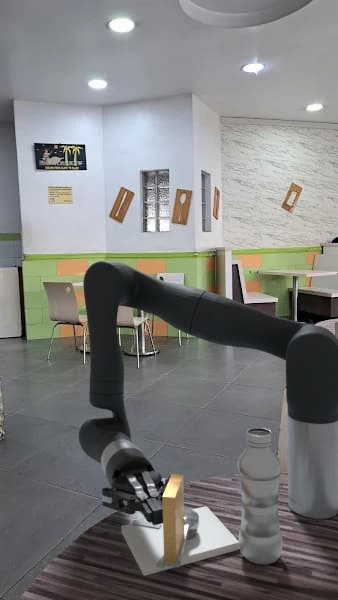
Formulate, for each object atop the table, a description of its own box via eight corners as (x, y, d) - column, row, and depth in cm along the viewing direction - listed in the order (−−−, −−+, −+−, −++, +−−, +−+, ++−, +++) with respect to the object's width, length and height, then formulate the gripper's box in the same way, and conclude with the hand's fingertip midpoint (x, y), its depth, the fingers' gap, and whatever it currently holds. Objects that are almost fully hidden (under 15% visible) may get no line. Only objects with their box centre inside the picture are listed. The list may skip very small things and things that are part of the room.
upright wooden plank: (171, 514, 81) (170, 454, 80) (200, 516, 80) (199, 456, 79) (153, 567, 68) (151, 495, 67) (188, 570, 67) (186, 498, 66)
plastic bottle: (283, 573, 70) (283, 441, 68) (237, 568, 71) (235, 438, 69) (282, 546, 76) (281, 425, 74) (239, 542, 77) (238, 423, 76)
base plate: (205, 510, 87) (204, 498, 87) (243, 553, 75) (242, 539, 74) (120, 530, 82) (120, 517, 81) (146, 580, 69) (145, 565, 69)
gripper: (87, 453, 81) (112, 502, 65) (161, 441, 85) (201, 484, 69) (89, 495, 81) (114, 554, 65) (162, 481, 86) (202, 533, 70)
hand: (159, 518), depth 67 cm, fingers closed
